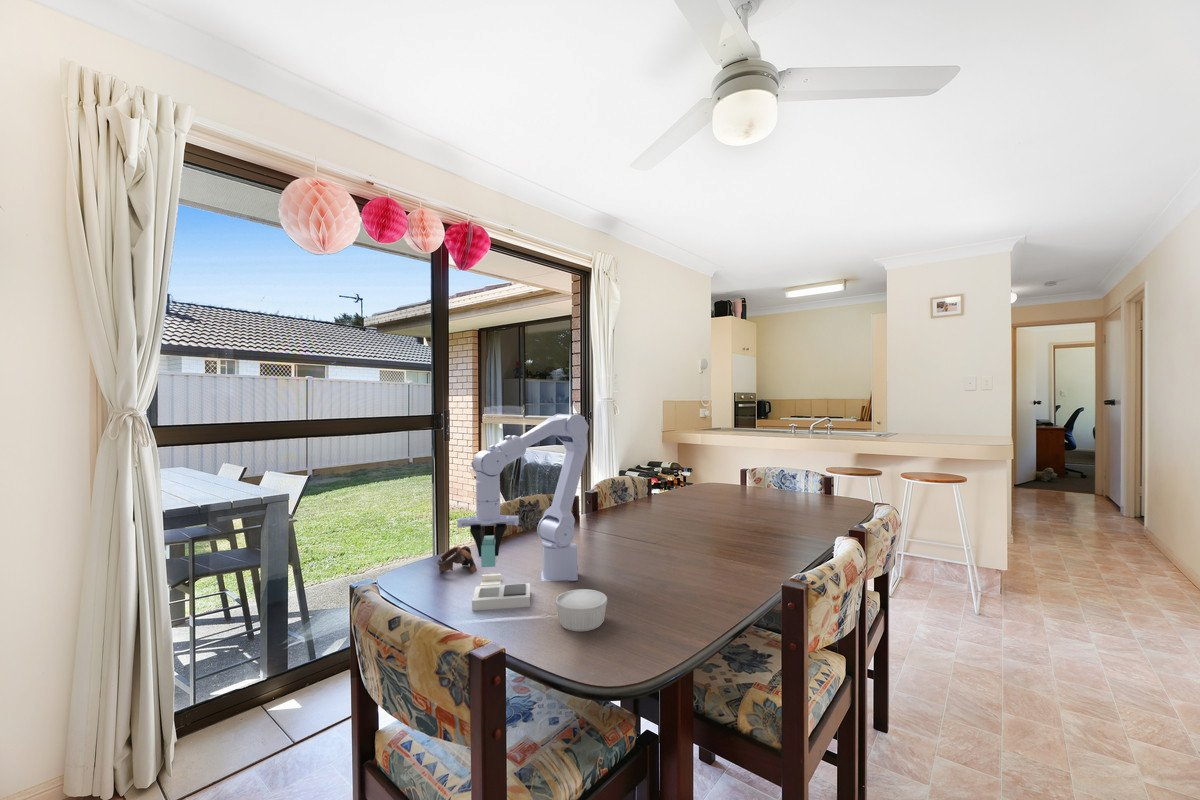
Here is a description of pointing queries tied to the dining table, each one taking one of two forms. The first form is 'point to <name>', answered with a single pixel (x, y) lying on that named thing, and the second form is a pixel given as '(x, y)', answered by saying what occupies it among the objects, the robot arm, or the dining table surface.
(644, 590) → the dining table surface
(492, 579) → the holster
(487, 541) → the plug
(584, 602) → the ramekin
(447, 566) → the brown jagged curved sculpture
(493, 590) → the panel
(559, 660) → the dining table surface
